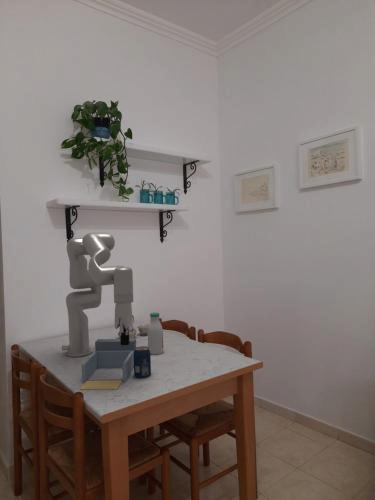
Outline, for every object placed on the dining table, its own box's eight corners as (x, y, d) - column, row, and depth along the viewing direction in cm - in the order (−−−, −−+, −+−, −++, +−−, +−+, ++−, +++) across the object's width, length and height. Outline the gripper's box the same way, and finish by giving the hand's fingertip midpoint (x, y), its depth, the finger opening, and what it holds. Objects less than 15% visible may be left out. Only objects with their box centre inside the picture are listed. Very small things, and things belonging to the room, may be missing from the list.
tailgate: (87, 383, 141) (80, 392, 133) (87, 379, 141) (80, 388, 133) (122, 382, 141) (117, 391, 132) (122, 379, 141) (117, 388, 132)
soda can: (141, 373, 151) (140, 345, 151) (154, 375, 147) (153, 347, 147) (130, 378, 145) (129, 349, 145) (144, 381, 141) (143, 351, 141)
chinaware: (132, 348, 193) (134, 318, 192) (105, 343, 198) (107, 314, 197) (153, 335, 219) (155, 309, 218) (129, 331, 225) (131, 305, 224)
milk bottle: (161, 355, 175) (159, 314, 174) (146, 354, 176) (144, 314, 176) (165, 350, 182) (164, 311, 182) (150, 350, 184) (149, 311, 183)
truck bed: (82, 384, 140) (81, 354, 140) (98, 365, 162) (98, 339, 162) (126, 384, 139) (125, 353, 139) (136, 364, 162) (135, 338, 161)
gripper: (119, 295, 149) (120, 339, 149) (108, 301, 134) (110, 350, 134) (137, 295, 148) (138, 339, 148) (128, 301, 133) (129, 350, 133)
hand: (125, 344), depth 141 cm, fingers closed
